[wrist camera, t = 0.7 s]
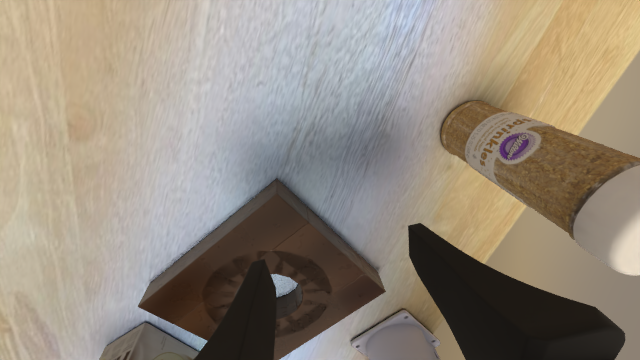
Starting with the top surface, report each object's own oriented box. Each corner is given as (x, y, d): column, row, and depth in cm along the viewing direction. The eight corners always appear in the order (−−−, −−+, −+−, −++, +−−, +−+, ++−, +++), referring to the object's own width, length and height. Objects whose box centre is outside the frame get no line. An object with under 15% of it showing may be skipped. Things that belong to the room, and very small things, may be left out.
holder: (377, 271, 28) (385, 291, 26) (265, 345, 32) (264, 368, 30) (277, 177, 22) (276, 193, 20) (149, 283, 25) (137, 306, 23)
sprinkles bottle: (458, 91, 21) (699, 168, 9) (504, 110, 22) (769, 200, 10) (428, 146, 22) (593, 271, 11) (471, 161, 24) (663, 288, 12)
